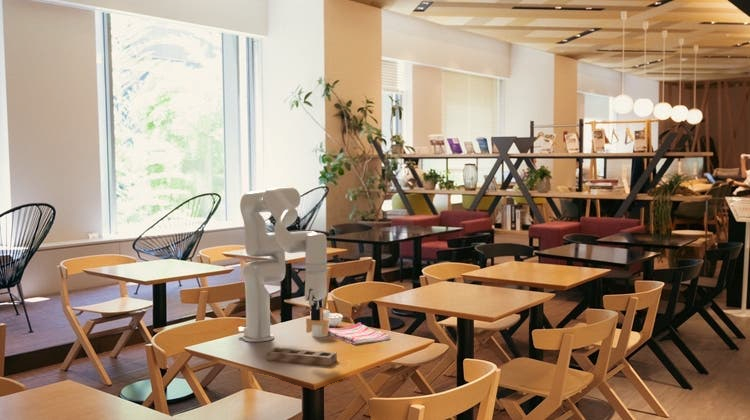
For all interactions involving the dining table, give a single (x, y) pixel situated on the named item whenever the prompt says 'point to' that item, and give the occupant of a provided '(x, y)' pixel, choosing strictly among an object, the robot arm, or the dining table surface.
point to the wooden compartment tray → (302, 356)
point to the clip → (317, 323)
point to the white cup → (318, 329)
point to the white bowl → (334, 319)
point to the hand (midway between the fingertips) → (317, 319)
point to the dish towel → (358, 334)
